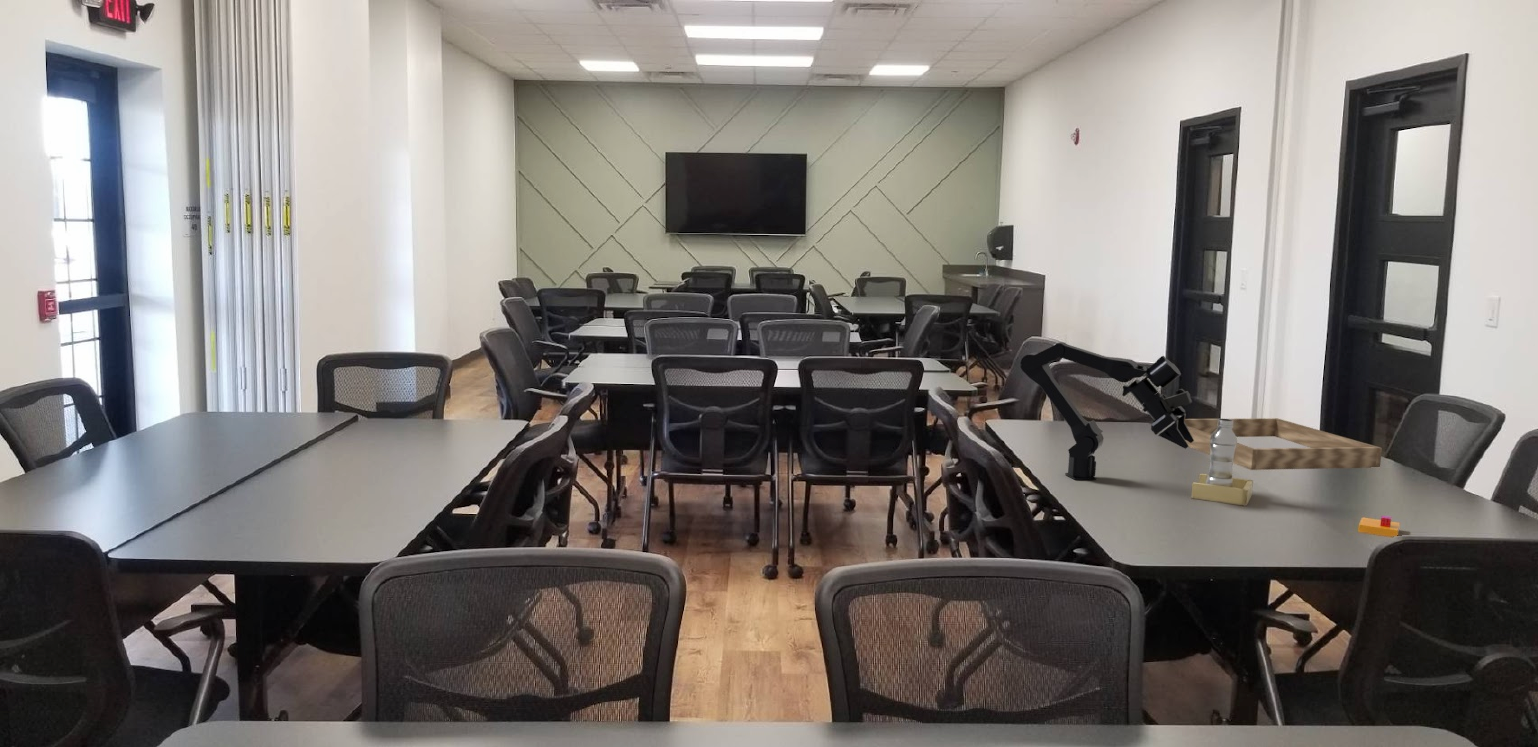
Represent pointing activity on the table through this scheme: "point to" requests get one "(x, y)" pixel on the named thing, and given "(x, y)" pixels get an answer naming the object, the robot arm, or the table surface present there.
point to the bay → (1223, 491)
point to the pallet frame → (1320, 455)
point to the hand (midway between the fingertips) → (1189, 444)
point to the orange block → (1379, 526)
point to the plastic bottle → (1222, 454)
